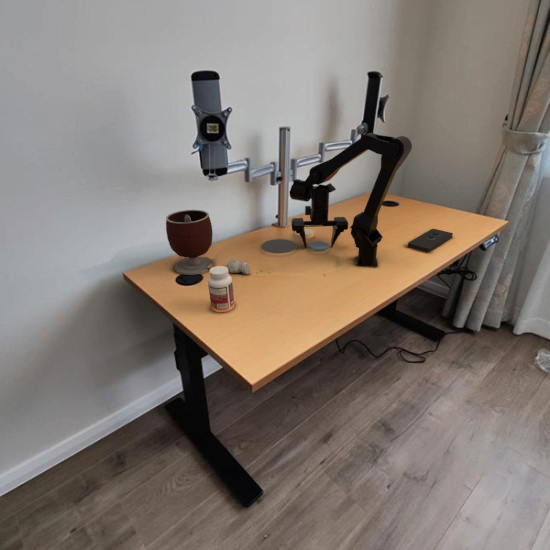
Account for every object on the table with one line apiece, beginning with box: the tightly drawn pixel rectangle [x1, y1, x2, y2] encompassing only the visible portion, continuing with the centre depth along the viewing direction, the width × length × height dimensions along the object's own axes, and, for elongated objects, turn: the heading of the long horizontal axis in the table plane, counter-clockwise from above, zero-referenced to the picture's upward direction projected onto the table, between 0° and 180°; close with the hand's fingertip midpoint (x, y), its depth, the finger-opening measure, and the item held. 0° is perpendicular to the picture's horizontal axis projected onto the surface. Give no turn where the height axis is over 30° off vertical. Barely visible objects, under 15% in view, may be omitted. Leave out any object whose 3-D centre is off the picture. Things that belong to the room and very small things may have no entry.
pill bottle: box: [207, 265, 235, 313], centre depth 95 cm, size 6×6×11 cm
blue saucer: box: [308, 240, 330, 253], centre depth 128 cm, size 7×7×2 cm
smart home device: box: [407, 228, 454, 254], centre depth 133 cm, size 8×2×20 cm
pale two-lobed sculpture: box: [226, 258, 251, 275], centre depth 114 cm, size 4×8×5 cm
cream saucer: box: [294, 228, 315, 239], centre depth 140 cm, size 7×7×2 cm
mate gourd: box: [165, 209, 213, 276], centre depth 115 cm, size 16×14×20 cm
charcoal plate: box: [260, 238, 298, 254], centre depth 131 cm, size 13×13×1 cm
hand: (318, 247), depth 128 cm, fingers open, 9 cm apart
